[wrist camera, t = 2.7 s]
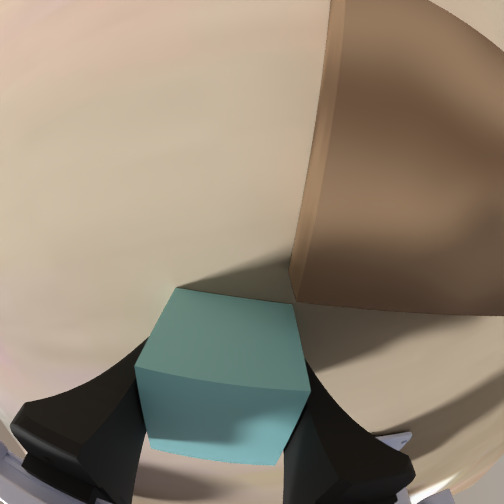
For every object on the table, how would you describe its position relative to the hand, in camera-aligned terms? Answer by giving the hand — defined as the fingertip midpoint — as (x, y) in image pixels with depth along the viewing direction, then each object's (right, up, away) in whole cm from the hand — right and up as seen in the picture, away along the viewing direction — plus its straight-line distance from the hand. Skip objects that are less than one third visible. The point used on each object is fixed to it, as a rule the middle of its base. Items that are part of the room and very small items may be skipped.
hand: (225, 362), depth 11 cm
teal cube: (0, 0, +1) cm, 1 cm away
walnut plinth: (+9, +9, -2) cm, 13 cm away
